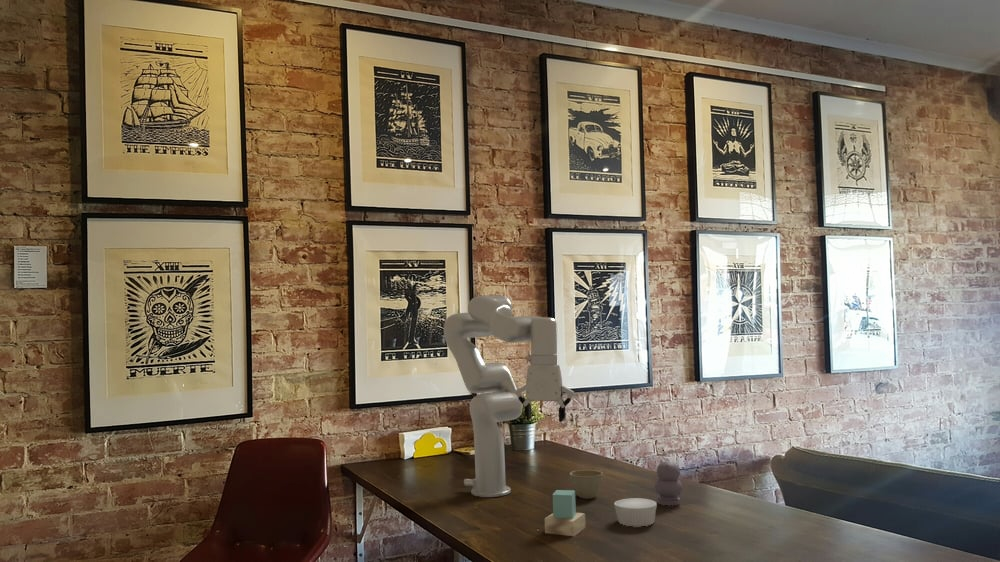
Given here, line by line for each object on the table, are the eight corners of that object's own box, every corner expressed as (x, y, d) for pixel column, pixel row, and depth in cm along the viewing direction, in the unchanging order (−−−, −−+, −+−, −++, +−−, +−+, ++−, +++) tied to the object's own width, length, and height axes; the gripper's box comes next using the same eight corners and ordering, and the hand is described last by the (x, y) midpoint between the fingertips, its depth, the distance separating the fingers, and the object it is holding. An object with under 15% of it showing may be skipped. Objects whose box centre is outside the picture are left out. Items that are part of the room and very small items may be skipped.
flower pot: (602, 501, 221) (601, 476, 221) (569, 500, 223) (568, 476, 223) (604, 492, 230) (603, 469, 231) (572, 492, 232) (571, 469, 233)
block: (553, 518, 191) (552, 494, 192) (557, 512, 196) (556, 489, 196) (572, 518, 190) (571, 495, 190) (575, 513, 195) (574, 490, 195)
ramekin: (612, 517, 203) (611, 498, 203) (653, 516, 203) (652, 496, 203) (617, 529, 192) (616, 509, 192) (661, 528, 192) (660, 507, 192)
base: (545, 534, 191) (544, 518, 191) (557, 525, 198) (557, 510, 198) (573, 537, 187) (573, 521, 188) (585, 528, 195) (584, 513, 195)
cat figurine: (687, 506, 211) (685, 463, 212) (660, 507, 211) (658, 465, 211) (678, 498, 220) (676, 458, 220) (652, 500, 219) (650, 459, 220)
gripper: (511, 361, 211) (512, 421, 211) (570, 362, 206) (571, 424, 206) (519, 358, 218) (520, 416, 218) (576, 359, 213) (577, 419, 213)
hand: (545, 420), depth 212 cm, fingers open, 9 cm apart
